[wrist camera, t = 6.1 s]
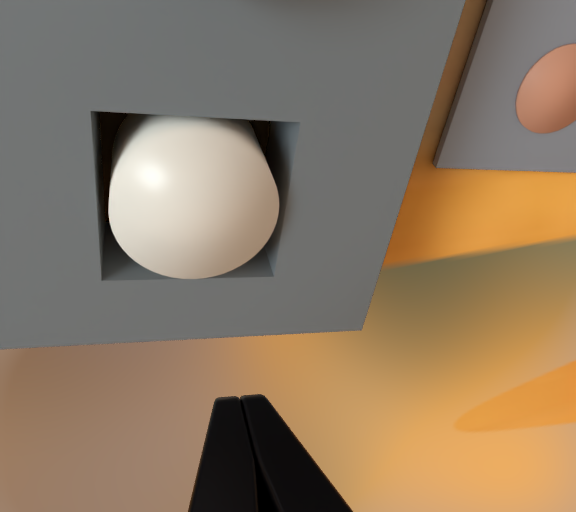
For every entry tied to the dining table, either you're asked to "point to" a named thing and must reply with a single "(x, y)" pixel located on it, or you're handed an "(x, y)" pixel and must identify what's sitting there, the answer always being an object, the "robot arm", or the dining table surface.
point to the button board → (216, 104)
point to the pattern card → (516, 91)
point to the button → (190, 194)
